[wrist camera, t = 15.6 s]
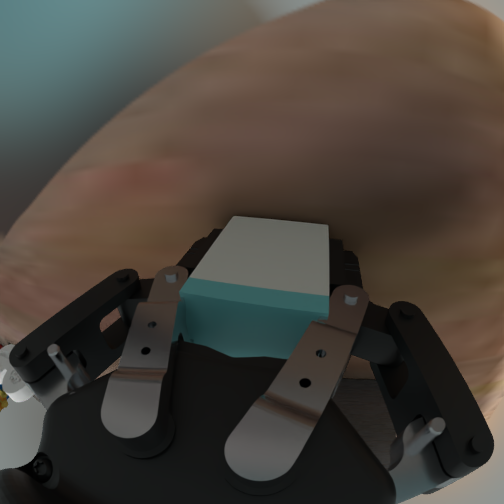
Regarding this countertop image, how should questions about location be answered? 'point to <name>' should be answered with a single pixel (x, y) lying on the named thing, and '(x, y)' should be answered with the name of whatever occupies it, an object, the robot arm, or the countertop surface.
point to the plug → (259, 287)
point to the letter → (12, 378)
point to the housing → (367, 415)
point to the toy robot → (3, 395)
